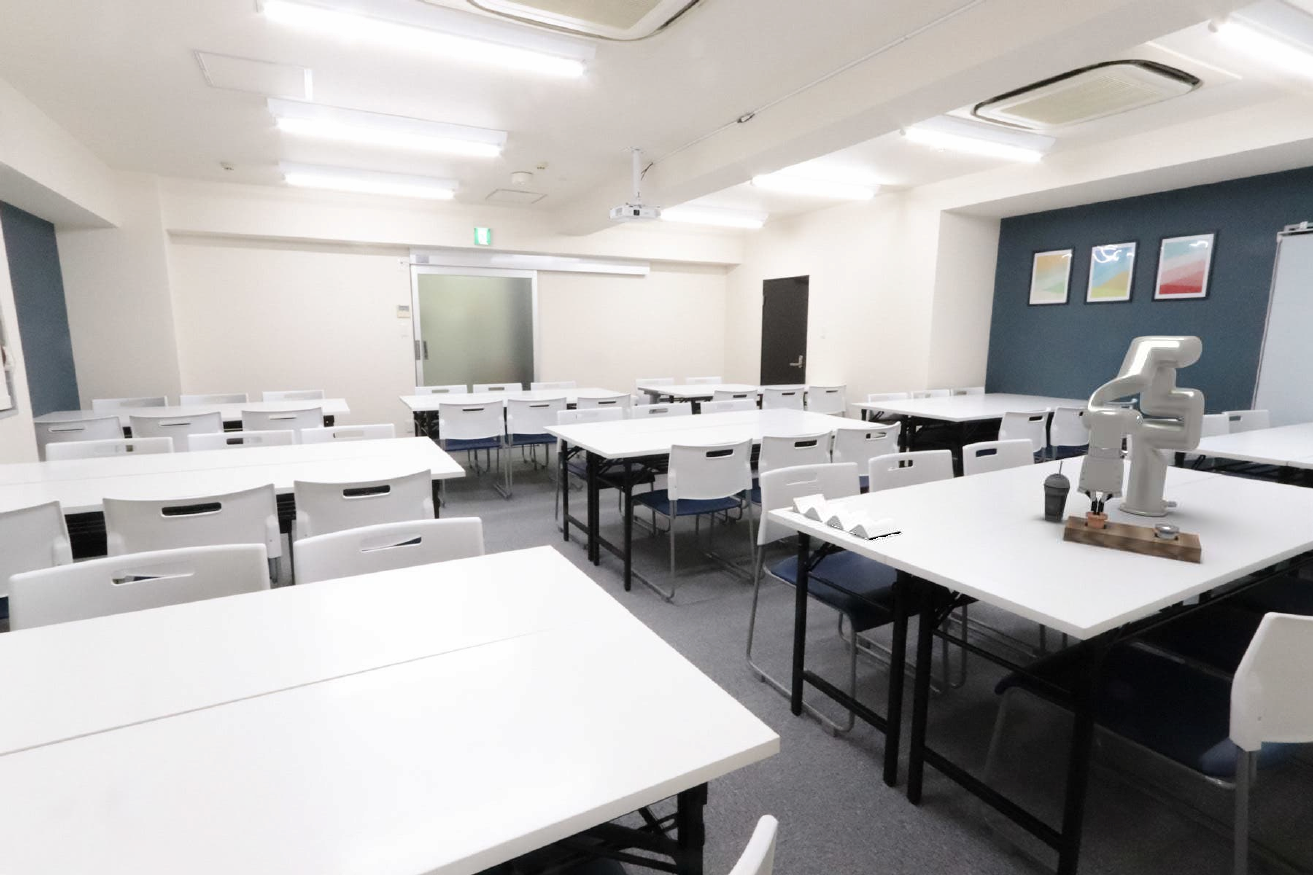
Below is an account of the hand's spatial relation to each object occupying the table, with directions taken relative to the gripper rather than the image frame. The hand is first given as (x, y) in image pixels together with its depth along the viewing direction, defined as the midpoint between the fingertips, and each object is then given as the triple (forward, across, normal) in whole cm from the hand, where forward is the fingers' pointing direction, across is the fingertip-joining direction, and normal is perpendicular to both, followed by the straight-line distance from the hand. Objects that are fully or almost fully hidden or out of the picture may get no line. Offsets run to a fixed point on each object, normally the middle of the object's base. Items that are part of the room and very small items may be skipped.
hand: (1096, 514), depth 177 cm
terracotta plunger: (+7, 0, 0) cm, 7 cm away
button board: (+8, -8, 0) cm, 11 cm away
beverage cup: (+8, +11, -13) cm, 19 cm away
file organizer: (+9, +64, +29) cm, 71 cm away
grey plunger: (+7, -16, 0) cm, 18 cm away
